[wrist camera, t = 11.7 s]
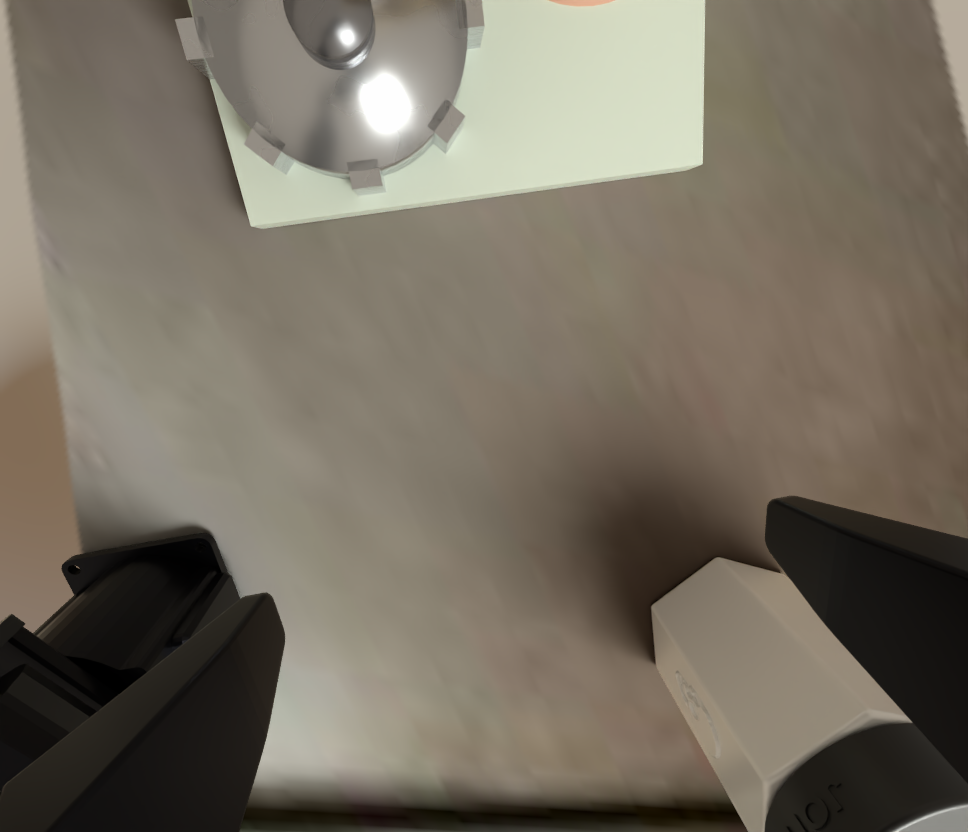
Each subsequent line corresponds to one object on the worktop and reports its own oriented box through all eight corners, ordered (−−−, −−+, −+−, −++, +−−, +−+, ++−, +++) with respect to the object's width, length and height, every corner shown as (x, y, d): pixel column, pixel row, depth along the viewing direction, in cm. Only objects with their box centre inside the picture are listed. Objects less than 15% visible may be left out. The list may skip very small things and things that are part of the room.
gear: (246, 211, 16) (215, 201, 14) (153, -121, 13) (94, -203, 11) (495, 177, 17) (505, 163, 15) (457, -149, 14) (462, -232, 12)
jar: (642, 572, 25) (822, 831, 13) (785, 538, 25) (1079, 763, 14) (653, 693, 28) (808, 991, 16) (781, 662, 28) (1020, 931, 17)
